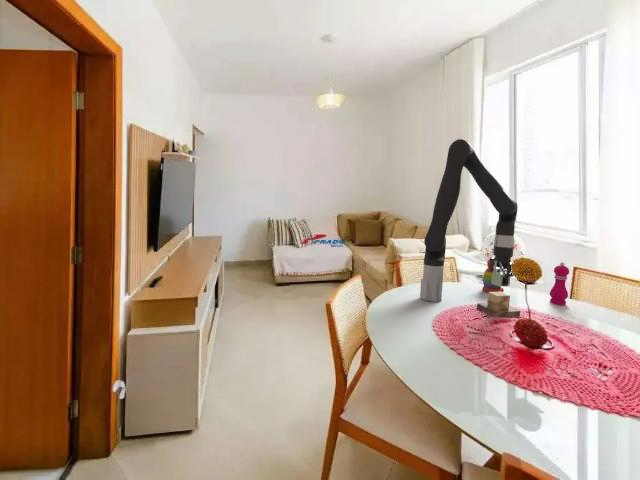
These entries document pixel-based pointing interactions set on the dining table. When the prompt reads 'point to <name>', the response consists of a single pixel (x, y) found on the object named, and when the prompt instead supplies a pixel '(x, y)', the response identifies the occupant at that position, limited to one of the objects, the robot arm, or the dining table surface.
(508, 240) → the robot arm
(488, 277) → the stacking bear
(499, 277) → the green cube
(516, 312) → the base board
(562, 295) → the pepper mill
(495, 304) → the oak cube
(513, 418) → the dining table surface
